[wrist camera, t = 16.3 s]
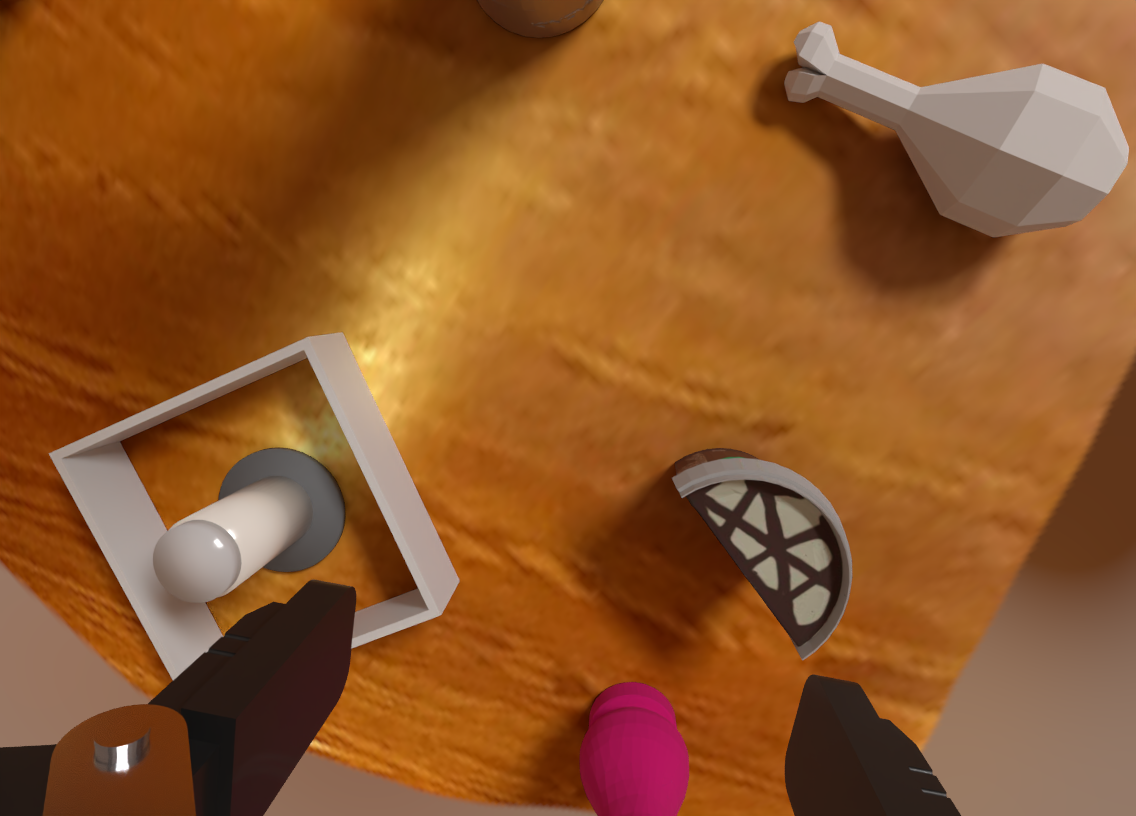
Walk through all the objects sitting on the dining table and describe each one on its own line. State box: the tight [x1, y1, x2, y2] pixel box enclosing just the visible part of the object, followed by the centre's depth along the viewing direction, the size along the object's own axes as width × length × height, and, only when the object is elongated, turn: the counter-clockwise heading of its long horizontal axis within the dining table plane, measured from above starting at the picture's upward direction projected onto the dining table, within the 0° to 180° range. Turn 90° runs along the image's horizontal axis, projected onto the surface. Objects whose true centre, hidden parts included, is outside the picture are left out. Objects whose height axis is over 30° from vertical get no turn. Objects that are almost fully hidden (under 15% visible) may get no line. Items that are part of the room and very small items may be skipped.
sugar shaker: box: [153, 476, 313, 603], centre depth 41 cm, size 5×5×10 cm
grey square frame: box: [49, 332, 459, 680], centre depth 44 cm, size 19×19×5 cm
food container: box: [672, 448, 852, 660], centre depth 39 cm, size 12×6×10 cm, turn 37°
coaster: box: [219, 448, 345, 572], centre depth 46 cm, size 9×9×1 cm
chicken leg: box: [784, 22, 1129, 237], centre depth 36 cm, size 8×18×8 cm, turn 63°
